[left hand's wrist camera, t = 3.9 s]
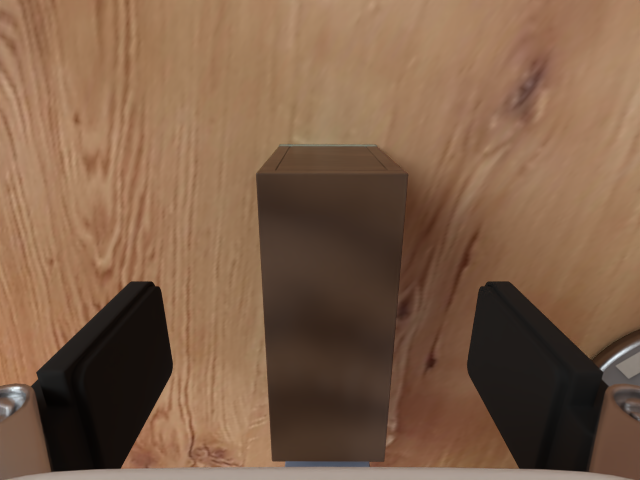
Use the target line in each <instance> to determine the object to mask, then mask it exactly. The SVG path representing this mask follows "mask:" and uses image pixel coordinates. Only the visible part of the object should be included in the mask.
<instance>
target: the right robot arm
mask: <svg viewBox="0 0 640 480" xmlns="http://www.w3.org/2000/svg"><path fill="white" fill-rule="evenodd" d="M592 362H593V363H594V364H595V365H597V366H598V367H599V368H600V369H601V370H602V371H603V372H604V373H603V376H602V380H603V381H604V382H605V383H606V384H607V385H608V386H612V385H614V384H631V385H637V386H640V330H637V331H635V332H633V333H631V334H629V335H627V336H625V337H623V338H621V339H619V340H617V341H616V342H614V343H613V344H611V345H610V346H608V347H607V348H606V349H604V350H603V351H602V352H601V353H599V354H598V355H597V356H596V357H595V358H594V359H593V360H592Z"/></svg>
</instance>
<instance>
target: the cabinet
mask: <svg viewBox="0 0 640 480" xmlns="http://www.w3.org/2000/svg"><path fill="white" fill-rule="evenodd" d="M256 182H257V200H258V217H259V235H260V253H261V271H262V289H263V307H264V325H265V343H266V361H267V379H268V397H269V415H270V433H271V450H272V461H315V462H384V457H385V445H386V433H387V421H388V409H389V397H390V385H391V374H392V362H393V350H394V338H395V326H396V314H397V302H398V290H399V278H400V266H401V254H402V242H403V230H404V218H405V206H406V194H407V183H408V173H406V172H405V171H404V170H403V169H402V168H401V167H400V166H398V165H397V164H396V163H395V162H394V161H393V160H392V159H390V158H389V157H388V156H387V155H386V154H385V153H384V152H383V151H381V150H380V149H379V148H378V147H377V146H376V145H290V144H280V145H279V147H278V148H277V149H276V151H275V152H274V153H273V154H272V155H271V157H270V158H269V159H268V160H267V161H266V163H265V164H264V165H263V166H262V167H261V168H260V170H259V171H258V172H257V173H256Z"/></svg>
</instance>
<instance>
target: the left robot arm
mask: <svg viewBox="0 0 640 480" xmlns="http://www.w3.org/2000/svg"><path fill="white" fill-rule="evenodd" d="M172 369H173V361H172V355H171V349H170V343H169V336H168V330H167V324H166V318H165V311H164V305H163V299H162V293H161V289H160V287H158V286H155V285H154V283H153V282H130V283H129V284H128V285H127V286H126V287H125V288H123V289H122V290H121V291H120V292H119V293H118V294H117V295H116V296H115V297H114V298H113V299H112V300H111V301H110V302H109V303H108V304H107V305H106V306H105V307H104V308H103V309H102V310H101V311H100V312H99V313H98V314H96V315H95V316H94V317H93V318H92V319H91V320H90V321H89V322H88V323H87V324H86V325H85V326H84V327H83V328H82V329H81V330H80V331H79V332H78V333H77V334H76V335H75V336H74V337H73V338H72V339H71V340H69V341H68V342H67V343H66V344H65V345H64V346H63V347H62V348H61V349H60V350H59V351H58V352H57V353H56V354H55V355H54V356H53V357H52V358H51V359H50V360H49V361H48V362H47V363H46V364H45V365H43V366H42V367H41V368H40V369H39V370H38V371H37V372H36V373H37V376H38V380H37V381H36V382H35V383H34V384H33V385H32V386H28V385H26V384H9V385H3V386H0V480H640V386H637V385H631V384H614V385H612V386H608V385H607V384H606V383H605V382H604V381H603V380H602V376H603V373H604V372H603V371H602V370H601V369H600V368H599V367H598V366H597V365H595V364H594V363H593V362H592V361H591V360H590V359H589V358H588V357H587V356H586V355H585V354H584V353H583V352H582V351H581V350H580V349H579V348H578V347H577V346H576V345H575V344H574V343H573V342H572V341H571V340H569V339H568V338H567V337H566V336H565V335H564V334H563V333H562V332H561V331H560V330H559V329H558V328H557V327H556V326H555V325H554V324H553V323H552V322H551V321H550V320H549V319H548V318H547V317H546V316H545V315H544V314H542V313H541V312H540V311H539V310H538V309H537V308H536V307H535V306H534V305H533V304H532V303H531V302H530V301H529V300H528V299H527V298H526V297H525V296H524V295H523V294H522V293H521V292H520V291H519V290H518V289H517V288H515V287H514V286H513V285H512V284H511V283H510V282H487V283H486V285H485V286H482V287H480V289H479V293H478V299H477V305H476V311H475V318H474V324H473V330H472V336H471V343H470V349H469V355H468V361H467V369H468V373H469V376H470V378H471V380H472V382H473V383H474V385H475V387H476V389H477V391H478V393H479V395H480V396H481V398H482V400H483V402H484V404H485V406H486V408H487V409H488V411H489V413H490V415H491V417H492V419H493V420H494V422H495V424H496V426H497V428H498V430H499V432H500V433H501V435H502V437H503V439H504V441H505V443H506V445H507V446H508V448H509V450H510V452H511V454H512V456H513V458H514V459H515V461H516V463H517V465H518V467H519V469H498V468H449V467H192V468H142V469H121V467H122V465H123V463H124V461H125V459H126V458H127V456H128V454H129V452H130V450H131V448H132V446H133V445H134V443H135V441H136V439H137V437H138V435H139V433H140V432H141V430H142V428H143V426H144V424H145V422H146V420H147V419H148V417H149V415H150V413H151V411H152V409H153V408H154V406H155V404H156V402H157V400H158V398H159V396H160V395H161V393H162V391H163V389H164V387H165V385H166V383H167V382H168V380H169V378H170V376H171V373H172Z"/></svg>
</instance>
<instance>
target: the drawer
mask: <svg viewBox="0 0 640 480" xmlns="http://www.w3.org/2000/svg"><path fill="white" fill-rule="evenodd" d="M285 467H370V465H369V462H315V461H286V462H285Z"/></svg>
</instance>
